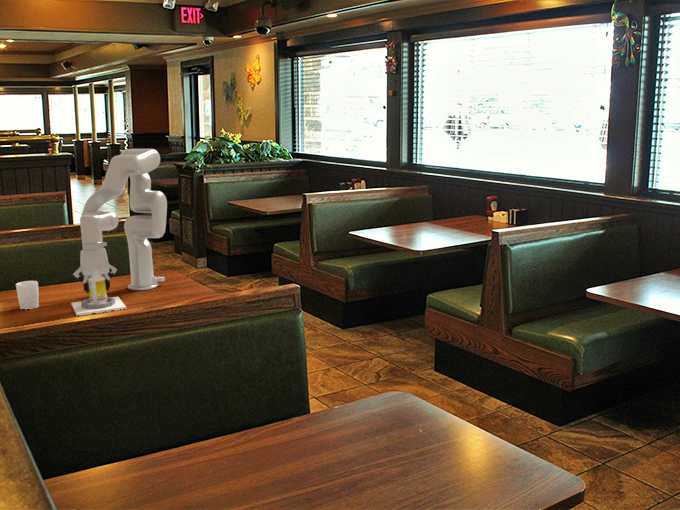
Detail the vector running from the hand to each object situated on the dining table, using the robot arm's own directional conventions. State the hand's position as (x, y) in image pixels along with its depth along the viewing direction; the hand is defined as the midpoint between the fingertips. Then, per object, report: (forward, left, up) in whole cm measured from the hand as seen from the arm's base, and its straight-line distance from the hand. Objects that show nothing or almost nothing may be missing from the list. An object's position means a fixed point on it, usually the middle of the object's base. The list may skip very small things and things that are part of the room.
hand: (97, 290), depth 260 cm
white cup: (+24, -14, -7) cm, 29 cm away
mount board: (0, 0, -7) cm, 7 cm away
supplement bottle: (0, 0, -5) cm, 5 cm away
